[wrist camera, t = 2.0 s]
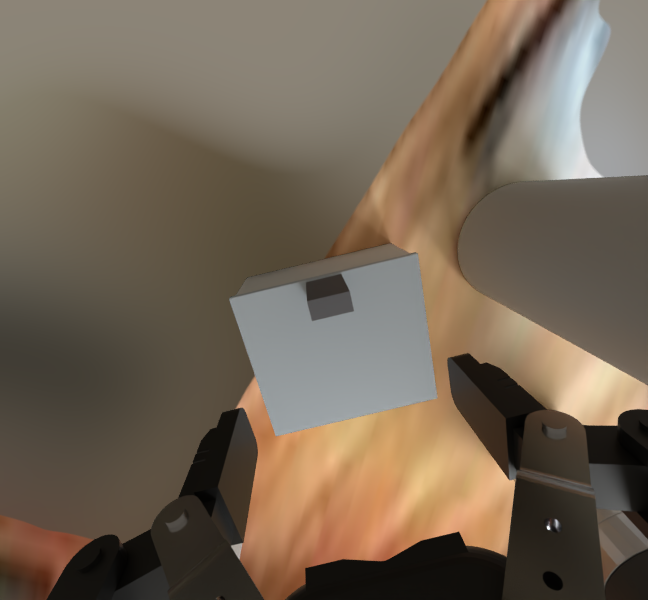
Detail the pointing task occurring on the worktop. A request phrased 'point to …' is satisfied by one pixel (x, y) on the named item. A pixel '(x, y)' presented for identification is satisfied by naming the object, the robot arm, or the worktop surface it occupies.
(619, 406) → the worktop surface
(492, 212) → the cylinder vase
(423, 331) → the grey plate
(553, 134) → the worktop surface
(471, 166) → the worktop surface
